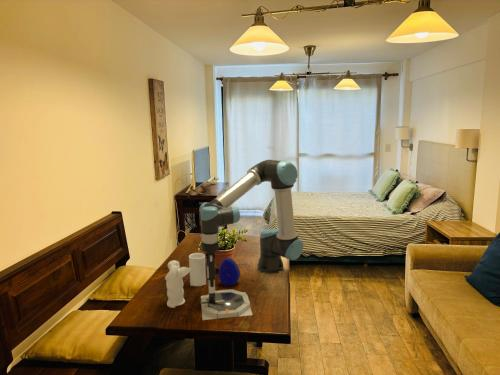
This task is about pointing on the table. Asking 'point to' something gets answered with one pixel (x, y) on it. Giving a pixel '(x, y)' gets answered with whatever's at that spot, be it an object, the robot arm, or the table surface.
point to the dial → (224, 301)
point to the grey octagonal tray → (214, 314)
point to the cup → (197, 269)
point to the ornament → (229, 272)
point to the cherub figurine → (175, 283)
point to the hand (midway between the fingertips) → (211, 286)
